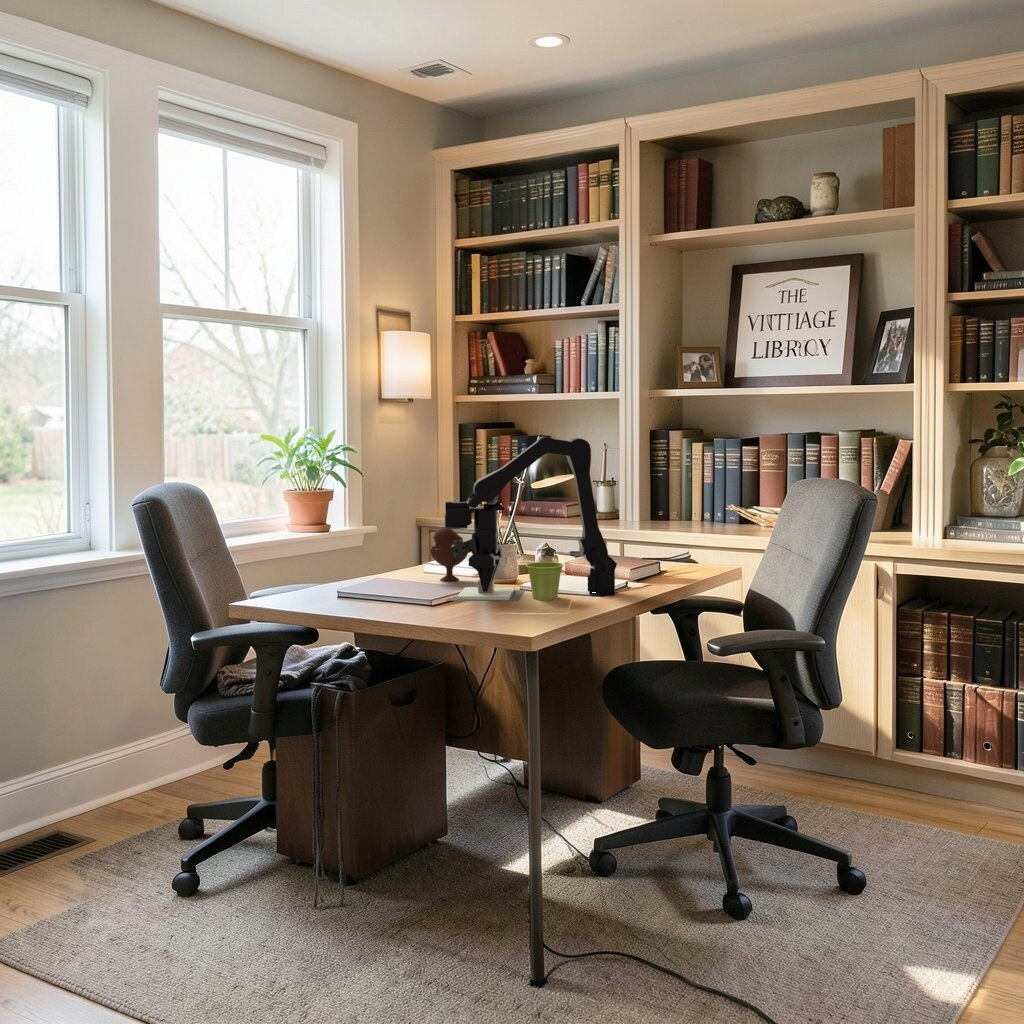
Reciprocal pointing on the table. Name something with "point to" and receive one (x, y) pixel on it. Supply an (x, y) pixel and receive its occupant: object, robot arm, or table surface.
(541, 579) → the plant pot
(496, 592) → the sage lid
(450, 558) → the ice cream bowl
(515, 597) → the gray flat panel
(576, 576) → the table surface
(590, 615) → the table surface
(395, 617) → the table surface
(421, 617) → the table surface
